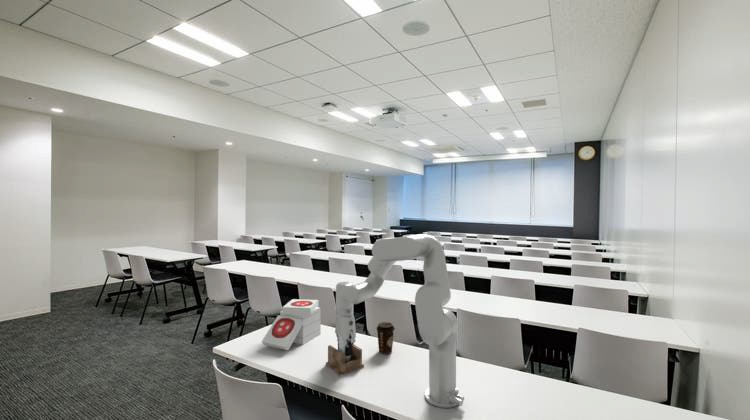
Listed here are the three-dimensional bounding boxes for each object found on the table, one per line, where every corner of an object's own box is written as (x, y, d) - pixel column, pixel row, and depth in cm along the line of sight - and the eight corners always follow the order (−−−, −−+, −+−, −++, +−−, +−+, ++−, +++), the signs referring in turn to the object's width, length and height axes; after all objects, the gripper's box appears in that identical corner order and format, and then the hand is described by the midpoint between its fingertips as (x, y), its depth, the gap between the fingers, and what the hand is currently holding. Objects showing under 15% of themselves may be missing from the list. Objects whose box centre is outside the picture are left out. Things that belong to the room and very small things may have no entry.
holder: (364, 367, 141) (364, 348, 141) (340, 375, 134) (340, 356, 133) (348, 357, 150) (348, 339, 150) (325, 364, 143) (325, 346, 143)
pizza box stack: (258, 348, 160) (258, 311, 160) (298, 328, 187) (298, 296, 187) (289, 356, 151) (289, 317, 151) (326, 334, 178) (326, 300, 178)
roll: (353, 359, 141) (353, 333, 141) (343, 363, 138) (342, 336, 138) (346, 355, 146) (346, 330, 146) (336, 358, 142) (336, 333, 142)
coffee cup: (395, 348, 160) (395, 321, 160) (394, 356, 151) (394, 328, 151) (377, 347, 160) (377, 321, 160) (375, 355, 152) (375, 327, 152)
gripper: (363, 314, 137) (363, 357, 137) (341, 305, 151) (341, 344, 151) (348, 318, 133) (348, 362, 133) (327, 308, 146) (327, 348, 146)
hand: (344, 352), depth 142 cm, fingers closed on roll, 5 cm apart
